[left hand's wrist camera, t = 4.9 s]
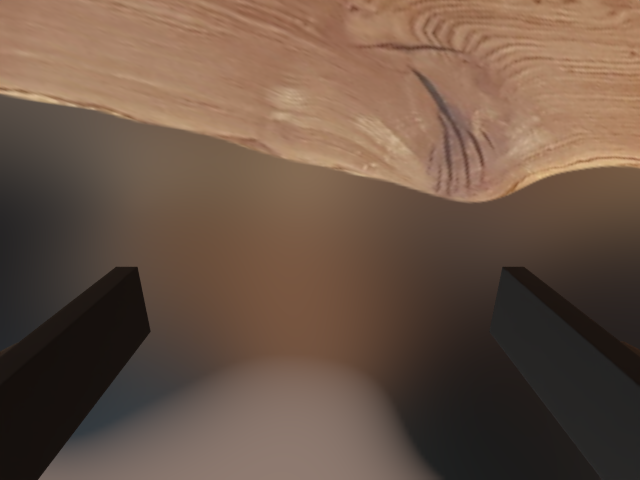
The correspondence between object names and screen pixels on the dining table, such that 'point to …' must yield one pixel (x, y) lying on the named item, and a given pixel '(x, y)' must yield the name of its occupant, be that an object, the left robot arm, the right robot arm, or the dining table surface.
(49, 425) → the left robot arm
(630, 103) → the dining table surface
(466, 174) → the dining table surface
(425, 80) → the dining table surface
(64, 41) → the dining table surface
